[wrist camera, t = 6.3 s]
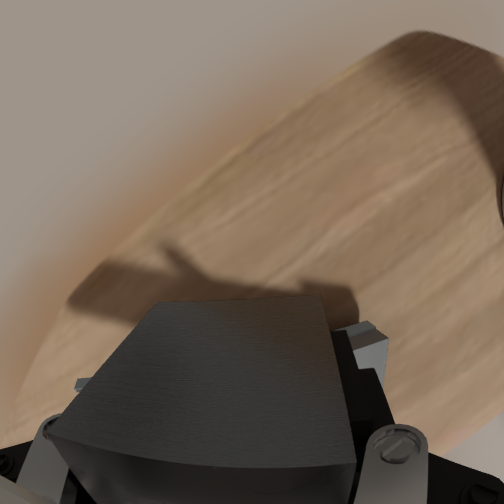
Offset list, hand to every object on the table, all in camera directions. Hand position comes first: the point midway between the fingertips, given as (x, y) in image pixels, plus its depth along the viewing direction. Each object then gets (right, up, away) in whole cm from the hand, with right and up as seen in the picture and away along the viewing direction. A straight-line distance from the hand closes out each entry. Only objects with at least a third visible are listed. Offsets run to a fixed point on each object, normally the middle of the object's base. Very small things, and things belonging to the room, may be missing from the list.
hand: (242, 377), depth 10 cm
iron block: (0, 0, +1) cm, 1 cm away
